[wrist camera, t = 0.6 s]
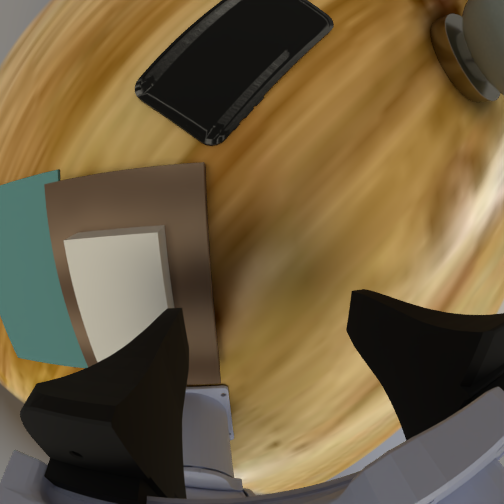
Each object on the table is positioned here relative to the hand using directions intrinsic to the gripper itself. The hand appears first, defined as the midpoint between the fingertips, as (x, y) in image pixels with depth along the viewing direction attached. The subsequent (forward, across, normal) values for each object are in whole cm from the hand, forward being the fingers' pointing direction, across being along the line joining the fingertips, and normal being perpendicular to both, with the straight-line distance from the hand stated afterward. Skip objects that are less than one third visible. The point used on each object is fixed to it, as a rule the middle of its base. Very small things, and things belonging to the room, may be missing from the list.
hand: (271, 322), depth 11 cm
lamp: (+9, -25, -21) cm, 34 cm away
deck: (+9, +8, +1) cm, 12 cm away
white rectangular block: (+5, +8, +1) cm, 10 cm away
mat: (+9, +20, +1) cm, 22 cm away
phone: (+10, 0, -16) cm, 18 cm away
